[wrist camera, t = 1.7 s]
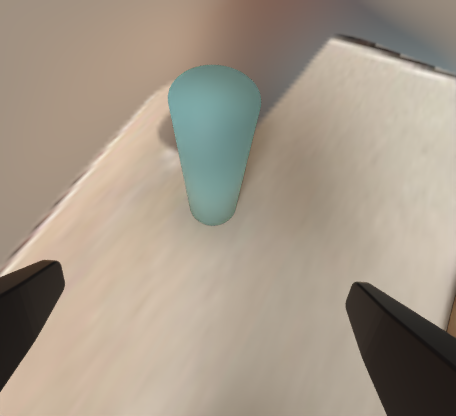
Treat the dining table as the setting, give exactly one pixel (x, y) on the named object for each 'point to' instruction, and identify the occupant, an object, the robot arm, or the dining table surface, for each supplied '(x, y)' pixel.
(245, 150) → the post
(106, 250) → the dining table surface
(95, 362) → the dining table surface
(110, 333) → the dining table surface
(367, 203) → the dining table surface
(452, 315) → the base board
